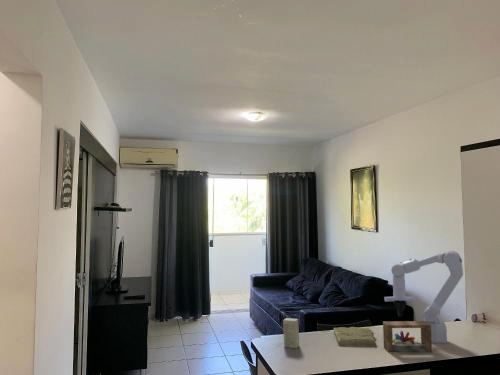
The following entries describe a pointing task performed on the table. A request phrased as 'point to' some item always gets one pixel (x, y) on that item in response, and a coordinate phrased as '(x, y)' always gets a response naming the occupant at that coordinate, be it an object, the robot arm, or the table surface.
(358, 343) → the folded green towel
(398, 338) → the multicoloured spiky piece
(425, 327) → the walnut shelf
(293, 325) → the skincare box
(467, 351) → the table surface
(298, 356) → the table surface
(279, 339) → the table surface
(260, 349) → the table surface
